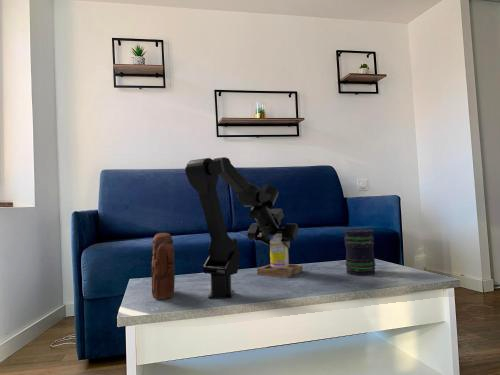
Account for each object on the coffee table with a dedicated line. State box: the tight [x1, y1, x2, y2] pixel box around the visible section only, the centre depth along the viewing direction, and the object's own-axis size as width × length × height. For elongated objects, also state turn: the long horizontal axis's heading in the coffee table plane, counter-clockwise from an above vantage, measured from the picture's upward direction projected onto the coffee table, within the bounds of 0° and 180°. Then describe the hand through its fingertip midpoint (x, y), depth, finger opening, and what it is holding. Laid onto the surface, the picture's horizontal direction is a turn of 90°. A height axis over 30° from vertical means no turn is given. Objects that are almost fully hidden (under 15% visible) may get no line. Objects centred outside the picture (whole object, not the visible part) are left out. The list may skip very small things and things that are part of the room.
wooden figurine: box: [151, 232, 176, 300], centre depth 101 cm, size 12×6×18 cm, turn 19°
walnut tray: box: [256, 263, 303, 279], centre depth 125 cm, size 12×12×2 cm
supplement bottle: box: [269, 234, 290, 268], centre depth 125 cm, size 7×7×13 cm
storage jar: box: [344, 228, 376, 277], centre depth 120 cm, size 10×10×15 cm
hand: (280, 246), depth 126 cm, fingers closed on supplement bottle, 6 cm apart
